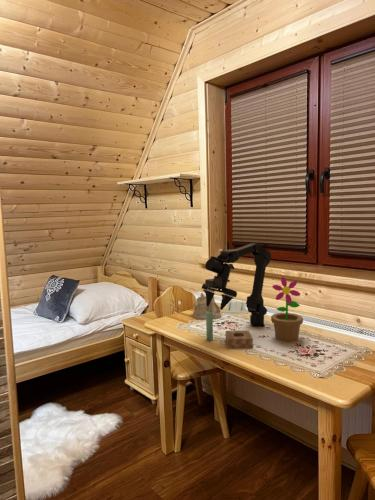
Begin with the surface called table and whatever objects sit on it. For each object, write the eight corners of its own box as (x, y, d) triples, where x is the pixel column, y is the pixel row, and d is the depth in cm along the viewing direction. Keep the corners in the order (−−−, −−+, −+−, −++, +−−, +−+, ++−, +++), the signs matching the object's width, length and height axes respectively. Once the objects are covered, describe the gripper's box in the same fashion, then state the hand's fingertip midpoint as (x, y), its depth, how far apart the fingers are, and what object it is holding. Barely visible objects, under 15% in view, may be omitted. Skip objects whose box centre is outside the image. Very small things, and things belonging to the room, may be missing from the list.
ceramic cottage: (222, 319, 204) (220, 292, 203) (192, 320, 204) (191, 294, 204) (220, 312, 220) (218, 287, 219) (192, 314, 220) (191, 289, 219)
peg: (212, 338, 175) (212, 311, 173) (213, 340, 172) (212, 313, 170) (206, 338, 175) (205, 312, 173) (206, 340, 172) (206, 313, 170)
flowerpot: (269, 342, 168) (269, 277, 165) (273, 332, 182) (273, 272, 178) (301, 345, 163) (302, 279, 160) (303, 334, 177) (304, 273, 173)
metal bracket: (224, 298, 228) (248, 299, 225) (224, 306, 230) (249, 307, 227) (222, 311, 215) (248, 311, 212) (222, 319, 217) (248, 320, 214)
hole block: (249, 338, 173) (249, 330, 173) (252, 347, 162) (252, 338, 162) (225, 339, 174) (225, 330, 173) (227, 347, 163) (227, 339, 162)
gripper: (198, 269, 177) (189, 300, 175) (225, 273, 163) (216, 308, 161) (213, 275, 184) (205, 305, 182) (241, 280, 170) (232, 313, 167)
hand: (214, 307), depth 173 cm, fingers open, 9 cm apart
